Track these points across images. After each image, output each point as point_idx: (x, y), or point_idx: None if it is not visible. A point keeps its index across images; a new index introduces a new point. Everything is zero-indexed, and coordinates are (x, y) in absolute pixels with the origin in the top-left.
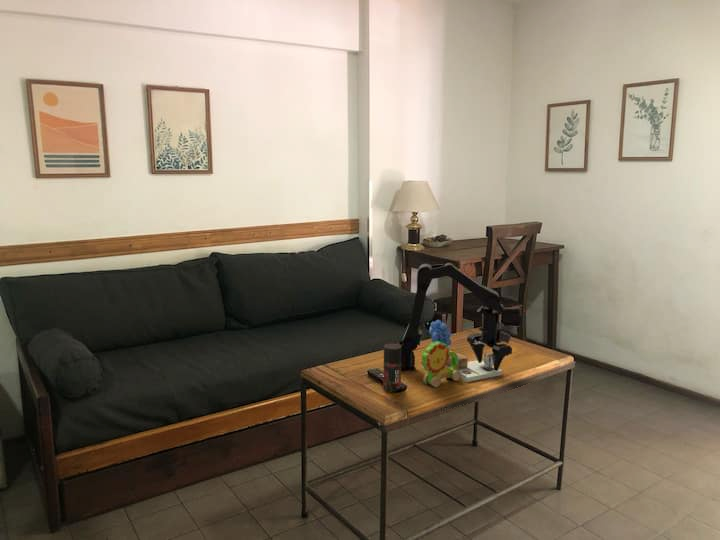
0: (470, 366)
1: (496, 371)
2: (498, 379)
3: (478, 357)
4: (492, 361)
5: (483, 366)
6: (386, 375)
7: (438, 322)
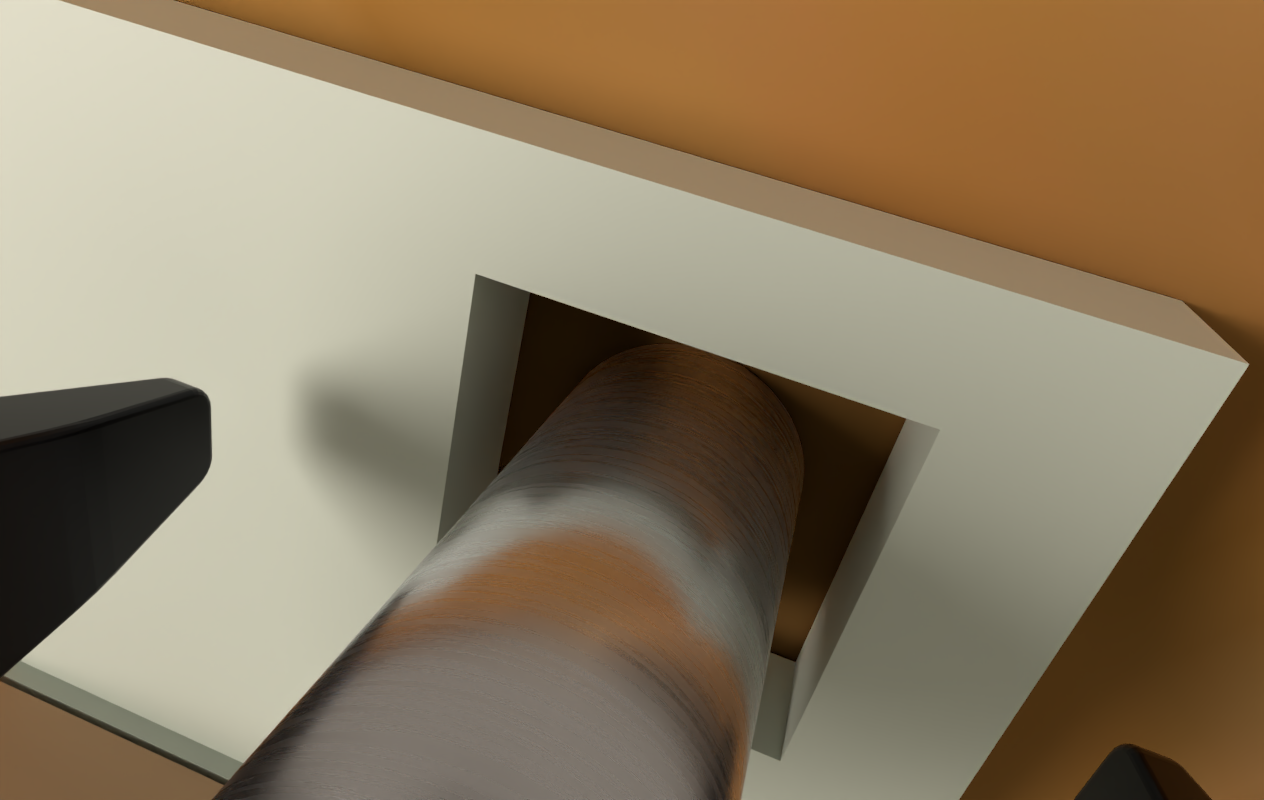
0: (254, 671)
1: (1046, 609)
2: (1240, 727)
3: (16, 625)
4: (716, 733)
5: (425, 463)
6: None
7: None
